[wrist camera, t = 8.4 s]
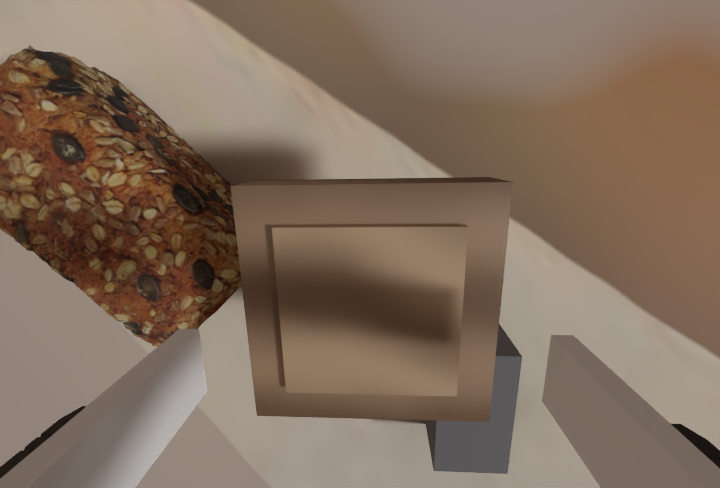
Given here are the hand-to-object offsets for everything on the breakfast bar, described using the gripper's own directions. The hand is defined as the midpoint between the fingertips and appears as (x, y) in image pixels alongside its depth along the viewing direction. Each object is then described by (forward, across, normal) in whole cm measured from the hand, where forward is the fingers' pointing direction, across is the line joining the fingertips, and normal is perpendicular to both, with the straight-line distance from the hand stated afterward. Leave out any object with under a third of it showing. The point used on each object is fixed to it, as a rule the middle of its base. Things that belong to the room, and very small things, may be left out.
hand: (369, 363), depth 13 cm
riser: (+17, -8, +12) cm, 22 cm away
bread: (+17, +17, -4) cm, 24 cm away
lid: (+6, 0, 0) cm, 6 cm away
